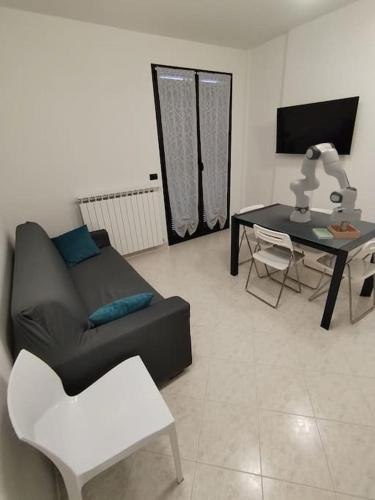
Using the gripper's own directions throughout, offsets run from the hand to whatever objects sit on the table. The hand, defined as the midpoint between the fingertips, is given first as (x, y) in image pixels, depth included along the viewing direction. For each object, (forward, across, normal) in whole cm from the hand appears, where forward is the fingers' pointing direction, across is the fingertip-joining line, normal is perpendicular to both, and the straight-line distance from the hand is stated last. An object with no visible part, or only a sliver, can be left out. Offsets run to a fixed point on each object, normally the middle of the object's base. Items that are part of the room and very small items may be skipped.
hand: (343, 226), depth 190 cm
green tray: (+8, +14, 0) cm, 16 cm away
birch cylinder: (+4, 0, 0) cm, 4 cm away
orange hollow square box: (+8, 0, 0) cm, 8 cm away
